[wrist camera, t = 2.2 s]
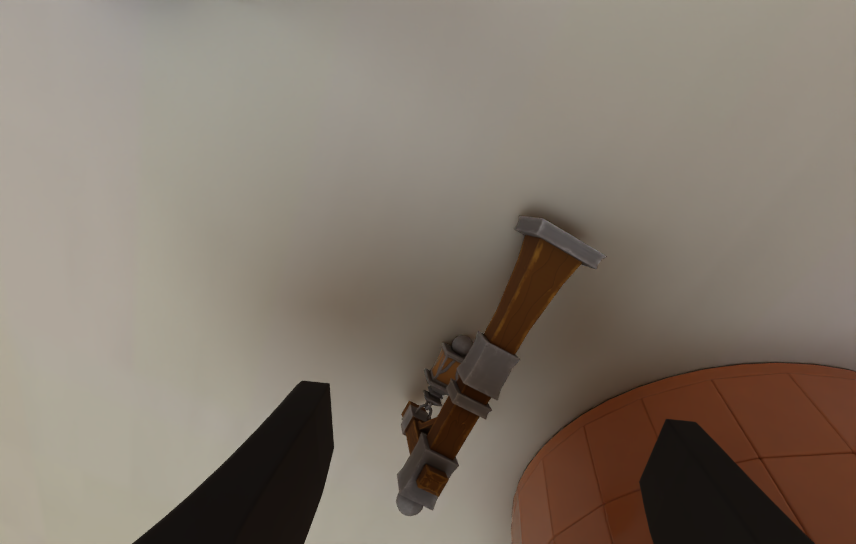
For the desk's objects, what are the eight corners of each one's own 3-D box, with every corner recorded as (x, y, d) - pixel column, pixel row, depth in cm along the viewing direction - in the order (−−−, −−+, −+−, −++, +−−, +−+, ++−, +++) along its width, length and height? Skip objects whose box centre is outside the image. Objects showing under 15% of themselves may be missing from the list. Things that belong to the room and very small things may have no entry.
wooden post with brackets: (371, 428, 15) (371, 521, 11) (493, 212, 15) (546, 218, 10) (420, 450, 16) (438, 549, 11) (541, 240, 15) (612, 257, 11)
